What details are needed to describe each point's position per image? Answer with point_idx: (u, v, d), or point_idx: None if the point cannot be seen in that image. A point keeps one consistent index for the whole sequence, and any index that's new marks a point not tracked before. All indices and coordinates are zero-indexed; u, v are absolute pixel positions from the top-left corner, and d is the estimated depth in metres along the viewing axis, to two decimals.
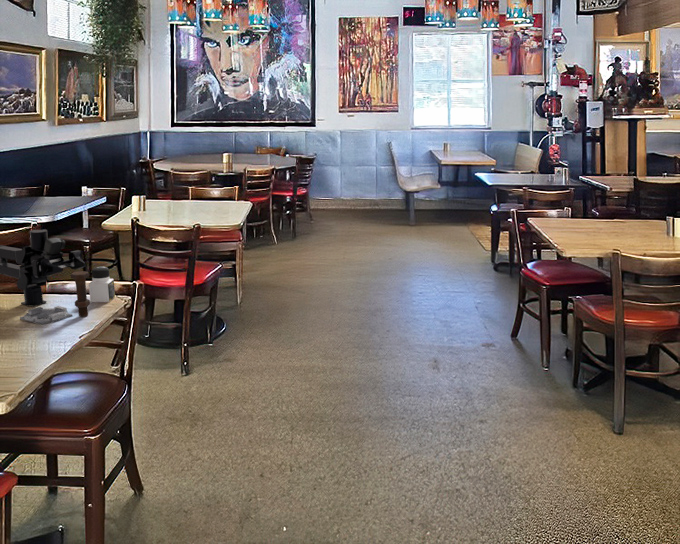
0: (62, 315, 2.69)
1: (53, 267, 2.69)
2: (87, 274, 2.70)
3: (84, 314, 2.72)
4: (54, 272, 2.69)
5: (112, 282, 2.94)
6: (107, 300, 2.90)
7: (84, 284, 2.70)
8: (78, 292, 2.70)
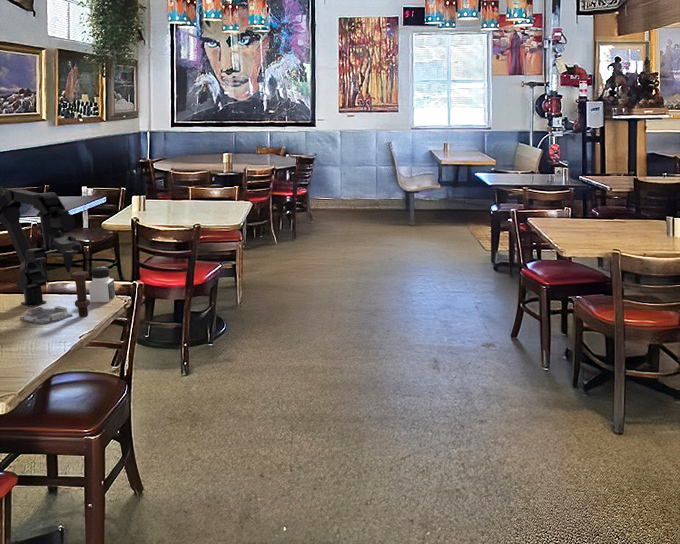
0: (62, 315, 2.69)
1: (42, 268, 2.73)
2: (87, 274, 2.70)
3: (84, 314, 2.72)
4: (39, 269, 2.74)
5: (112, 282, 2.94)
6: (107, 300, 2.90)
7: (84, 284, 2.70)
8: (78, 292, 2.70)
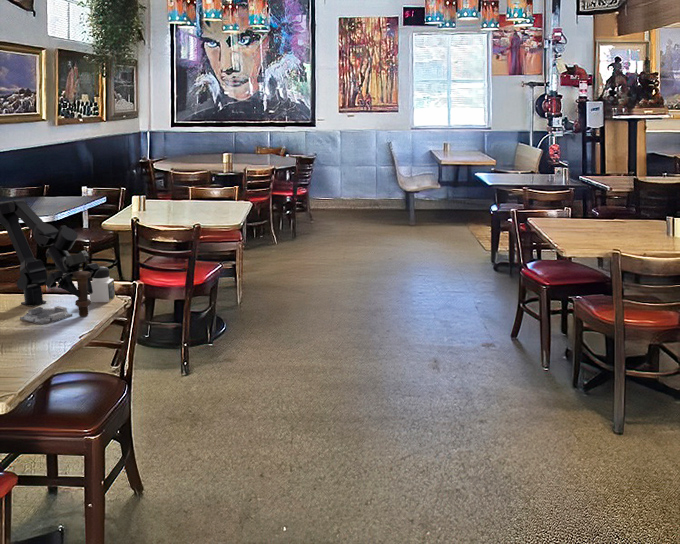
0: (62, 315, 2.69)
1: (72, 288, 2.68)
2: (89, 274, 2.70)
3: (84, 314, 2.72)
4: (71, 292, 2.69)
5: (112, 282, 2.94)
6: (107, 300, 2.90)
7: (86, 284, 2.71)
8: (79, 292, 2.70)
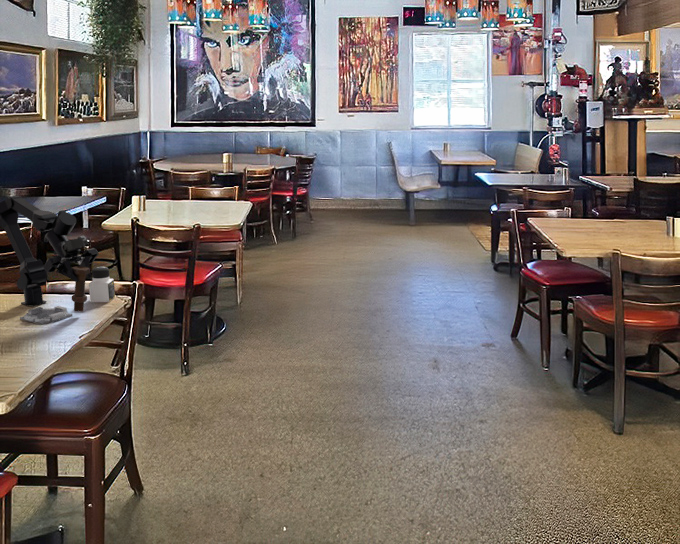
0: (62, 315, 2.69)
1: (71, 273, 2.67)
2: (88, 270, 2.70)
3: (79, 309, 2.71)
4: (69, 277, 2.68)
5: (112, 282, 2.94)
6: (107, 300, 2.90)
7: (84, 280, 2.70)
8: (77, 287, 2.70)
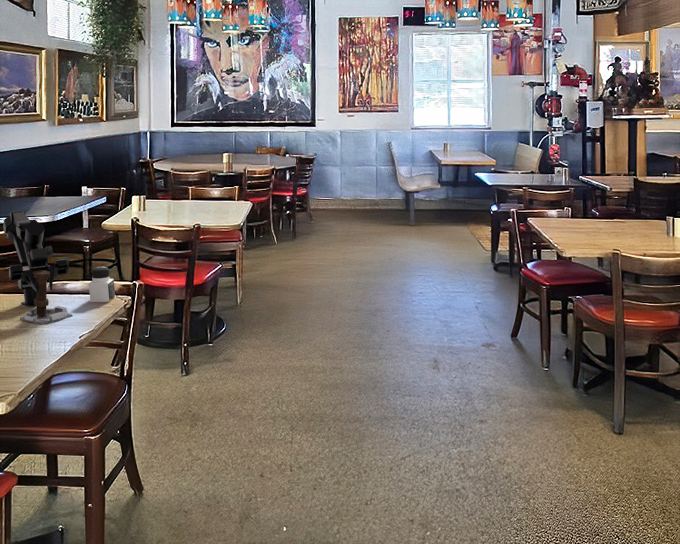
0: (62, 315, 2.69)
1: (31, 283, 2.68)
2: (47, 275, 2.68)
3: (40, 313, 2.71)
4: (32, 286, 2.69)
5: (112, 282, 2.94)
6: (107, 300, 2.90)
7: (43, 284, 2.69)
8: None
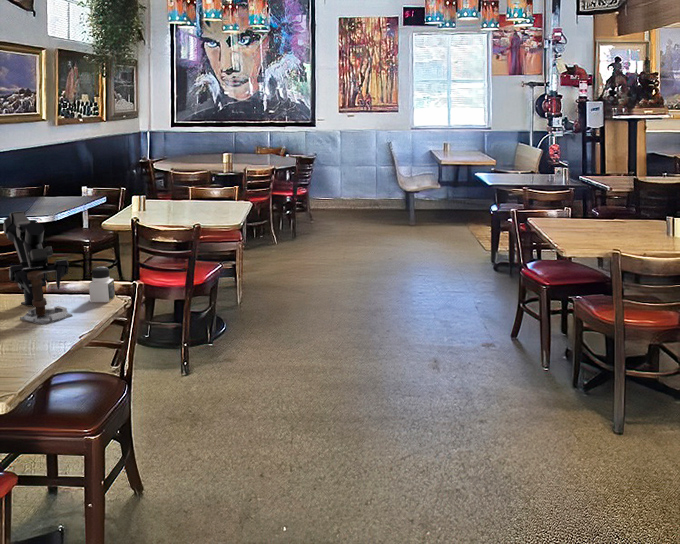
0: (62, 315, 2.69)
1: (24, 284, 2.67)
2: (41, 275, 2.67)
3: (40, 314, 2.71)
4: (24, 287, 2.68)
5: (112, 282, 2.94)
6: (107, 300, 2.90)
7: (38, 284, 2.68)
8: (33, 292, 2.69)
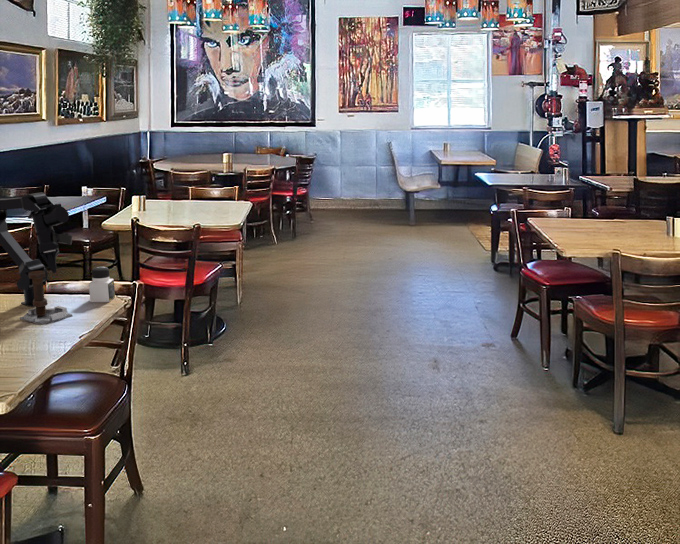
0: (62, 315, 2.69)
1: (53, 262, 2.75)
2: (43, 274, 2.68)
3: (40, 314, 2.71)
4: (48, 264, 2.74)
5: (112, 282, 2.94)
6: (107, 300, 2.90)
7: (40, 284, 2.69)
8: (34, 291, 2.70)
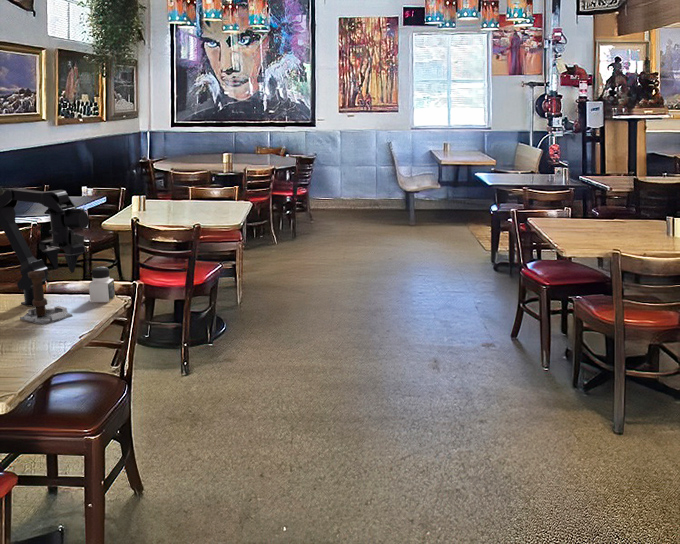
0: (62, 315, 2.69)
1: (75, 263, 2.79)
2: (42, 273, 2.69)
3: (40, 313, 2.71)
4: (70, 265, 2.77)
5: (112, 282, 2.94)
6: (107, 300, 2.90)
7: (39, 283, 2.69)
8: (34, 291, 2.70)
